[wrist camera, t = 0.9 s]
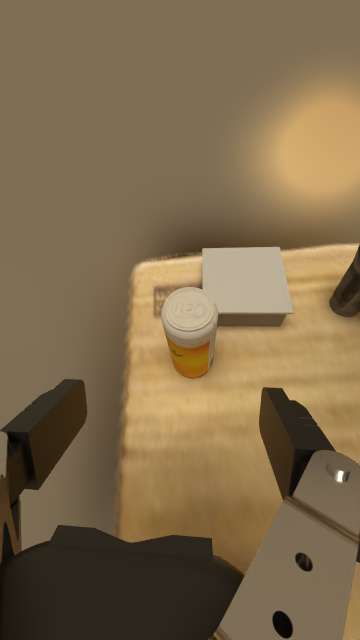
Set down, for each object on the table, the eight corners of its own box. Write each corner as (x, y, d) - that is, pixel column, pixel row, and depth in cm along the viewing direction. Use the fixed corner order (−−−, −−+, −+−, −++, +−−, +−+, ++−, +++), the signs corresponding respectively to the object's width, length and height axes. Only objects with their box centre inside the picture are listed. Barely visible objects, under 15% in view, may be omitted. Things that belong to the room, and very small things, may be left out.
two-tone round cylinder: (177, 338, 40) (167, 280, 27) (215, 345, 39) (222, 288, 26) (169, 374, 37) (152, 328, 24) (209, 382, 36) (214, 339, 23)
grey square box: (272, 266, 46) (279, 246, 42) (283, 328, 40) (293, 312, 36) (202, 267, 47) (202, 248, 43) (202, 328, 41) (202, 312, 37)
